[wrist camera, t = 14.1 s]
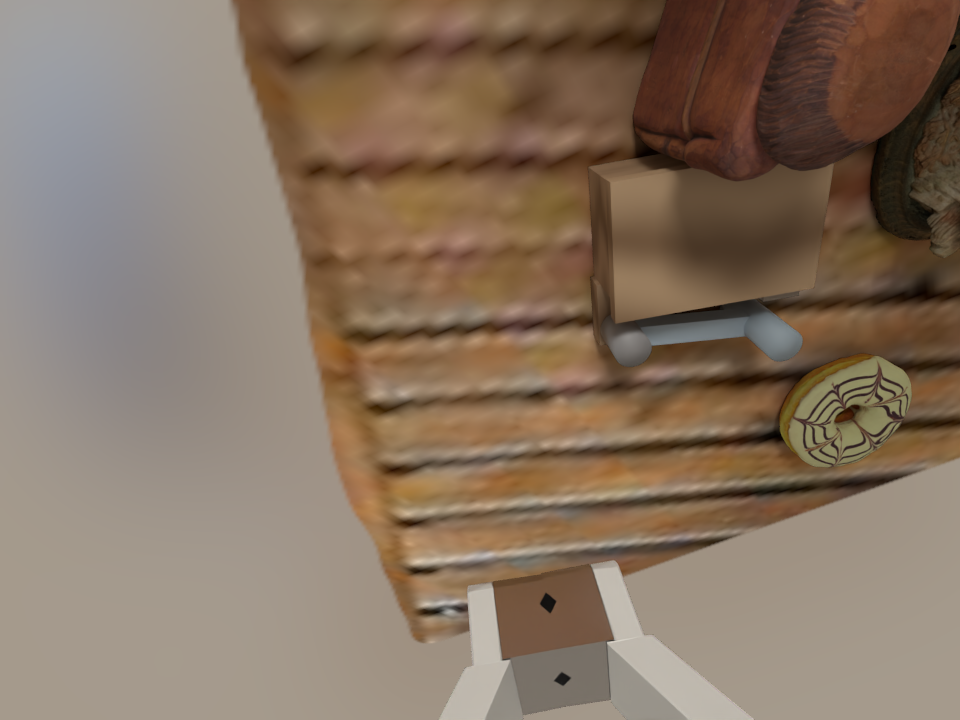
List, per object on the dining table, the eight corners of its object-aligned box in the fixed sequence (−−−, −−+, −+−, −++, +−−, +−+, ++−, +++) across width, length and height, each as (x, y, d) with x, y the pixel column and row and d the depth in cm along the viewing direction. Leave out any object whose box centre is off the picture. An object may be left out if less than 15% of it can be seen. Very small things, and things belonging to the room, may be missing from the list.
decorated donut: (905, 399, 50) (938, 424, 47) (799, 464, 53) (824, 492, 50) (865, 325, 46) (900, 346, 43) (752, 400, 49) (776, 425, 45)
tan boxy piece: (580, 160, 37) (610, 182, 31) (770, 126, 37) (837, 141, 31) (591, 335, 44) (617, 381, 38) (752, 306, 44) (804, 348, 38)
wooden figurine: (700, 156, 38) (892, 233, 22) (613, 135, 37) (752, 201, 21) (782, -51, 32) (1114, -142, 17) (683, -84, 31) (941, -214, 16)
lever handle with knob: (593, 333, 44) (619, 378, 38) (594, 303, 42) (622, 345, 36) (748, 318, 44) (798, 360, 38) (754, 287, 43) (807, 327, 37)
